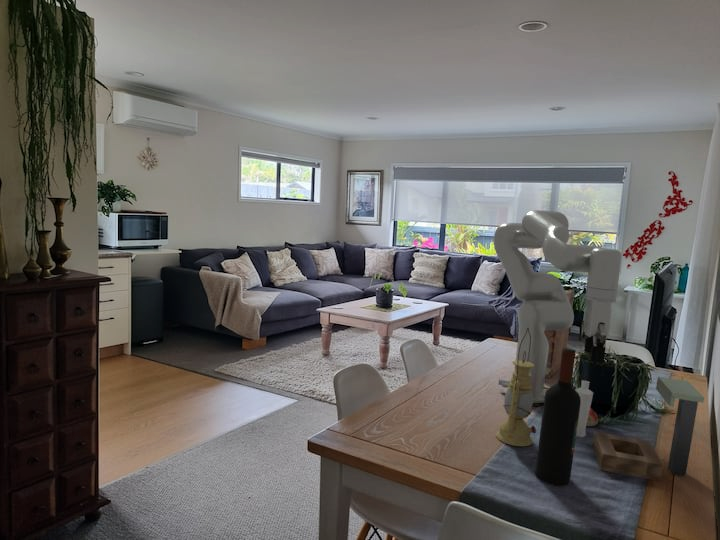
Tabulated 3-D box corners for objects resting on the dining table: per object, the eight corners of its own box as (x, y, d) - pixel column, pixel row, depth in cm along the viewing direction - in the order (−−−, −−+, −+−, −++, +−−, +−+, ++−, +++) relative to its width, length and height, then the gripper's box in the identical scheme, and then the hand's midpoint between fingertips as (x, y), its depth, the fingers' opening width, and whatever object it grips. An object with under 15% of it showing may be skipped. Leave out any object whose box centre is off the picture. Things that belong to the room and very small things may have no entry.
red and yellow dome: (572, 424, 152) (573, 413, 152) (573, 413, 161) (574, 401, 161) (597, 430, 149) (599, 418, 149) (597, 418, 158) (598, 406, 158)
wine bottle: (529, 468, 124) (545, 344, 120) (560, 468, 125) (577, 345, 121) (543, 485, 117) (560, 354, 113) (576, 486, 117) (594, 356, 113)
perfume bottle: (589, 439, 143) (596, 385, 141) (572, 436, 143) (579, 383, 141) (585, 431, 147) (592, 380, 145) (568, 429, 148) (576, 377, 146)
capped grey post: (657, 479, 123) (672, 392, 120) (645, 456, 135) (657, 376, 132) (691, 486, 121) (706, 397, 119) (675, 462, 133) (689, 381, 130)
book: (541, 358, 217) (550, 286, 213) (565, 363, 212) (574, 289, 208) (524, 372, 196) (534, 293, 192) (549, 379, 191) (560, 297, 187)
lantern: (528, 453, 132) (542, 336, 127) (489, 441, 137) (502, 328, 132) (539, 436, 142) (553, 327, 138) (503, 426, 147) (515, 320, 143)
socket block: (600, 469, 126) (602, 453, 125) (592, 446, 138) (594, 431, 138) (660, 481, 123) (663, 465, 122) (646, 456, 135) (649, 441, 135)
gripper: (580, 289, 150) (574, 347, 152) (591, 297, 134) (584, 363, 136) (609, 291, 149) (602, 351, 151) (624, 301, 132) (615, 367, 134)
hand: (593, 357), depth 143 cm, fingers open, 9 cm apart
